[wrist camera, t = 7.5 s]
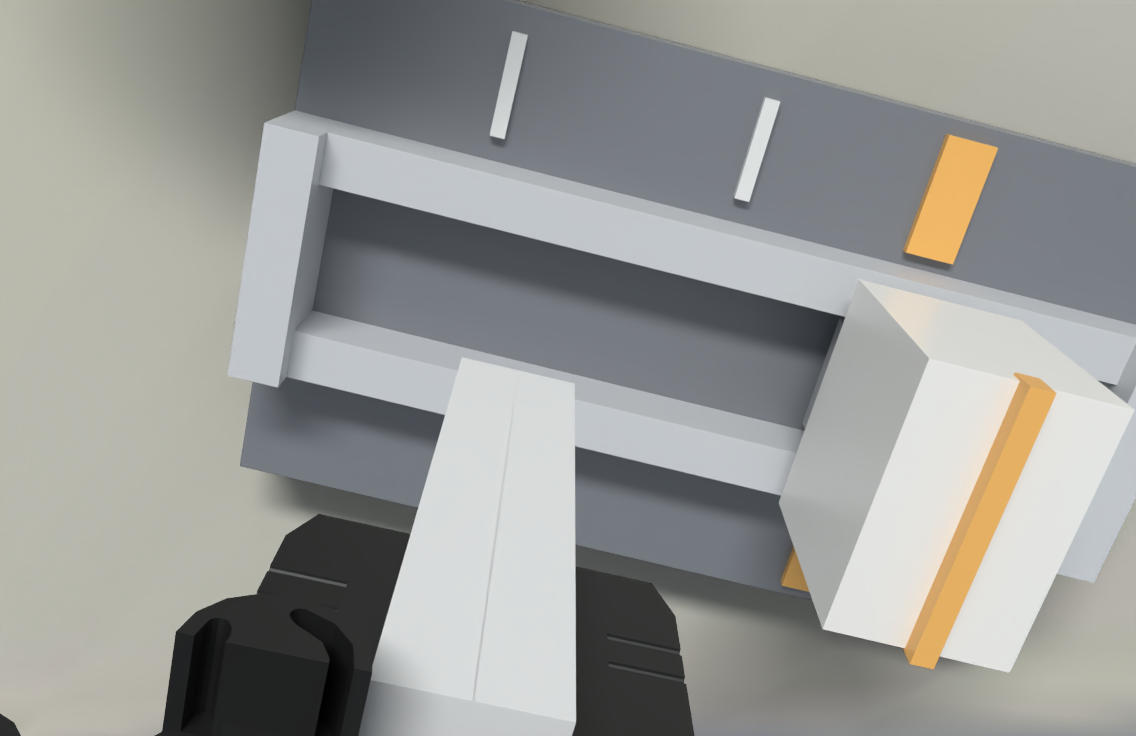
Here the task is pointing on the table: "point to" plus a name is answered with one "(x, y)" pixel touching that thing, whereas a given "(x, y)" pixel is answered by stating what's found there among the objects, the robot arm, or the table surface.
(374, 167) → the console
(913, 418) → the fader tab
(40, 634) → the table surface
